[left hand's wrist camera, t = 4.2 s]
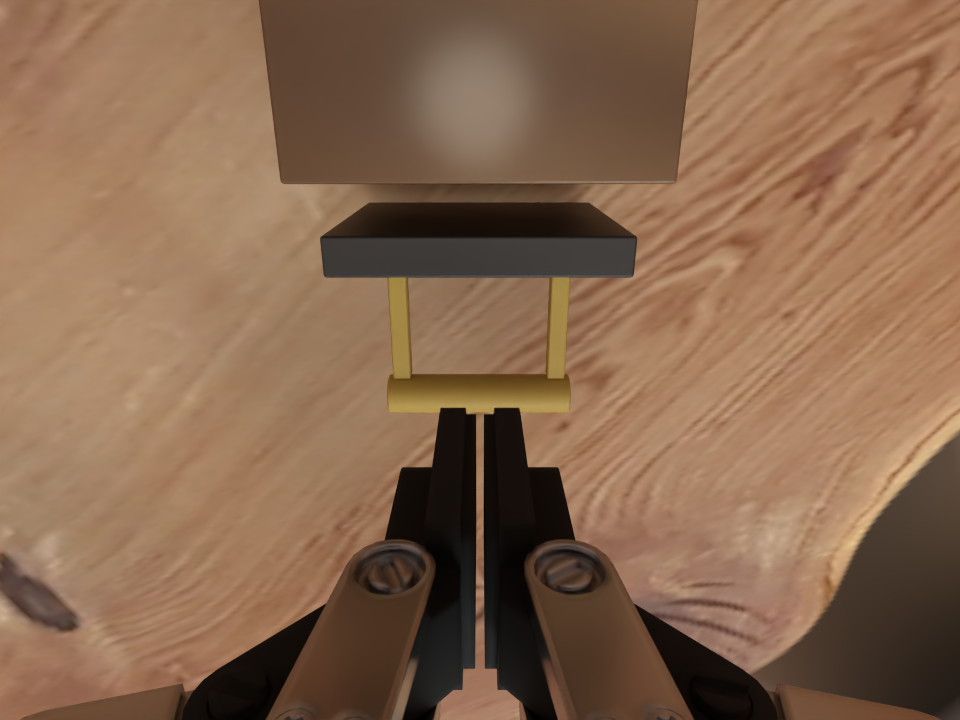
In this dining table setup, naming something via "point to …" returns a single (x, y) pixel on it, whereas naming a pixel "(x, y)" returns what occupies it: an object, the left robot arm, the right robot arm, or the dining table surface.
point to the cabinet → (478, 90)
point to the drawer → (478, 253)
